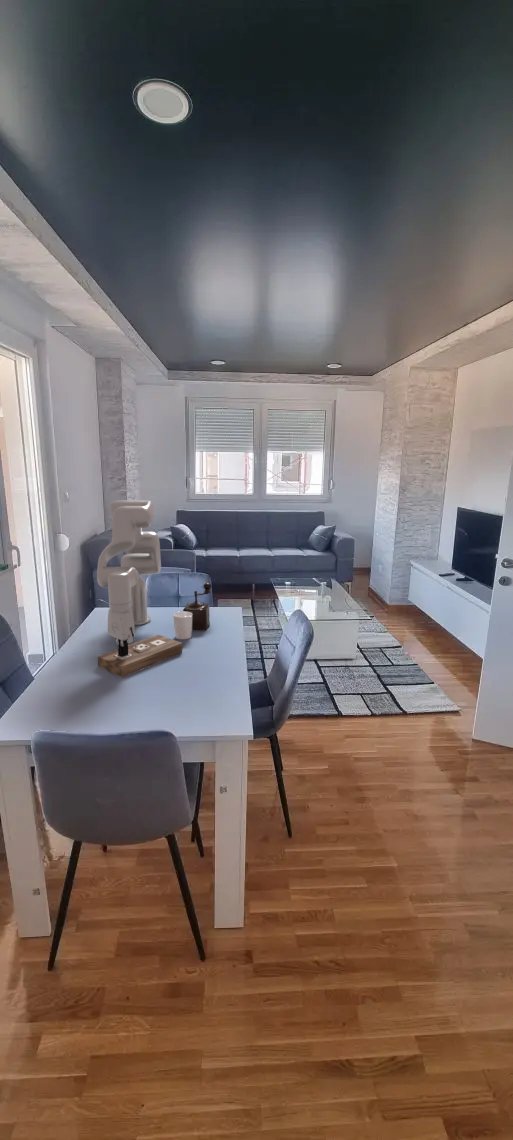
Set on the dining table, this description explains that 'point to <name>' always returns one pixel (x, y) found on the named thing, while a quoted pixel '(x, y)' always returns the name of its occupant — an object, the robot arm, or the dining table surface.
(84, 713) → the dining table surface
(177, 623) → the white cup
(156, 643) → the button one
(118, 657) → the button two
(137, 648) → the button three
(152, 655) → the button board
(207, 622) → the manual coffee grinder
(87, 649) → the dining table surface
